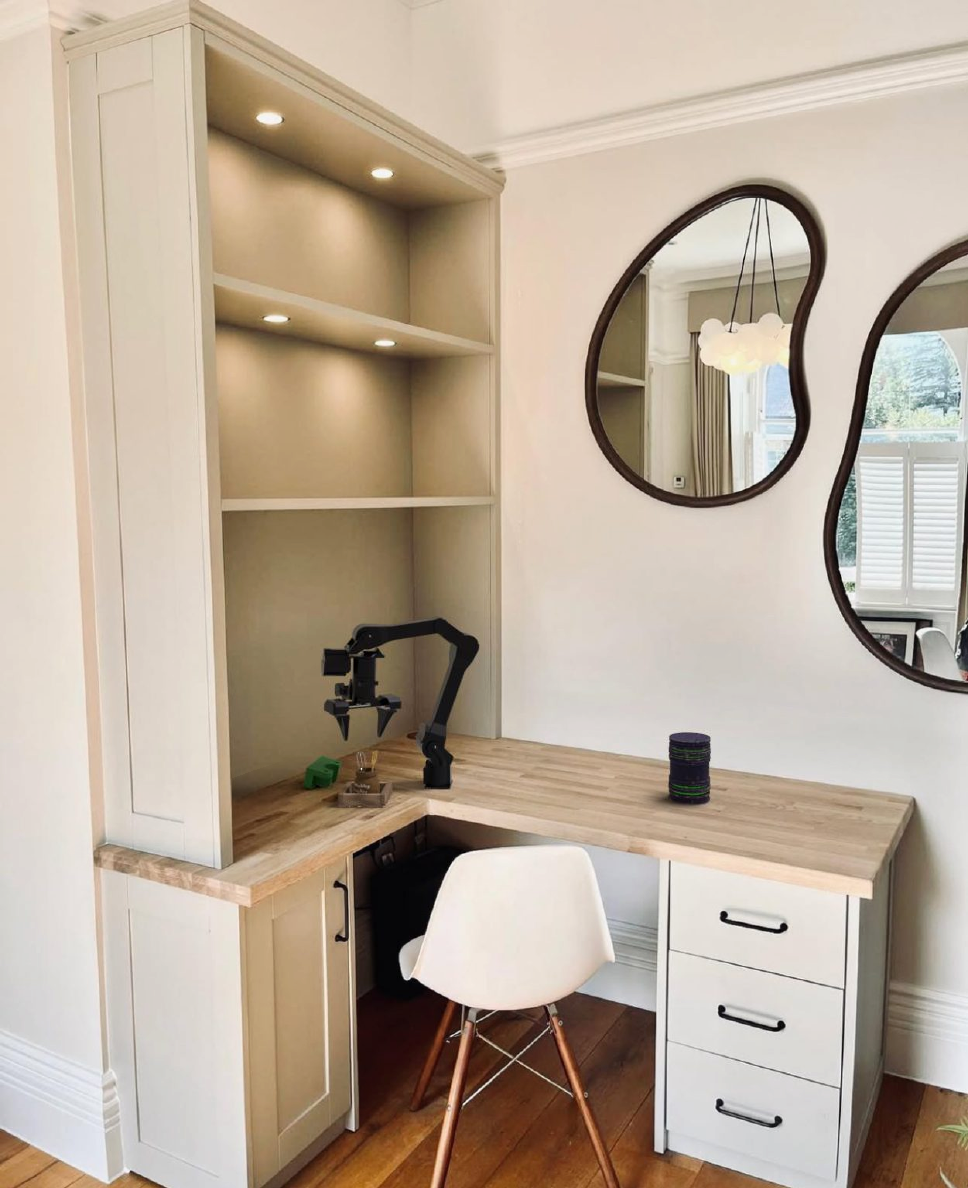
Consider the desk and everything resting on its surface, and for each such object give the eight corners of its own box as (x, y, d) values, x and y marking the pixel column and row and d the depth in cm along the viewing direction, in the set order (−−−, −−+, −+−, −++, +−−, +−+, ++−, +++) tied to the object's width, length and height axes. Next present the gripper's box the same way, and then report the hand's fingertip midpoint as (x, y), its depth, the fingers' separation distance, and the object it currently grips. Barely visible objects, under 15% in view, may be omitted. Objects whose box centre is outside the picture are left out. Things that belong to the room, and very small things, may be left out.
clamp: (324, 805, 251) (326, 778, 246) (302, 799, 251) (303, 771, 247) (342, 776, 261) (344, 749, 256) (320, 769, 262) (322, 742, 257)
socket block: (392, 795, 245) (392, 781, 245) (385, 809, 234) (384, 795, 234) (348, 795, 246) (347, 781, 245) (338, 809, 235) (338, 794, 235)
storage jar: (660, 795, 241) (660, 734, 240) (695, 790, 245) (696, 730, 243) (682, 806, 232) (682, 743, 230) (718, 802, 235) (719, 739, 234)
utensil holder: (367, 793, 244) (365, 745, 243) (386, 797, 240) (384, 748, 239) (349, 799, 239) (347, 750, 238) (368, 803, 235) (366, 753, 234)
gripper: (382, 668, 256) (380, 728, 257) (314, 673, 245) (313, 735, 247) (403, 675, 247) (401, 737, 248) (335, 680, 236) (333, 745, 237)
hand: (362, 738), depth 245 cm, fingers open, 9 cm apart
